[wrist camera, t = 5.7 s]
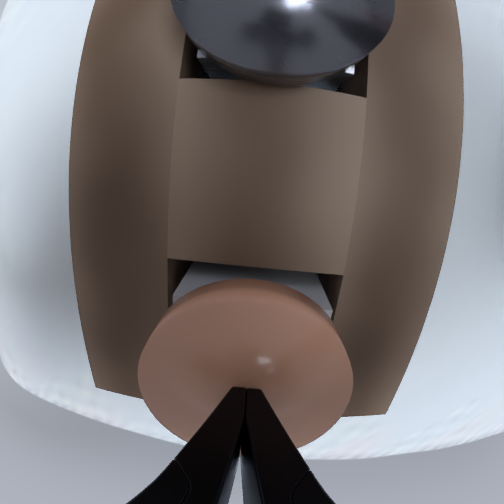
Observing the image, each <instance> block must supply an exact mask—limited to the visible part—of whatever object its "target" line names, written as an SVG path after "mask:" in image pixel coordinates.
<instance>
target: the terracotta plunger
mask: <svg viewBox="0 0 504 504" xmlns="http://www.w3.org/2000/svg"><path fill="white" fill-rule="evenodd" d="M332 312H333V310H332V308H331V305H330V303H329V301H328V298H327V296H326V294H325V292H324V290H323V287H322V285H321V283H320V281H319V279H318V276H317V274H316V273H313V272H302V271H291V270H280V269H270V268H259V267H249V266H238V265H228V264H218V263H208V262H199V261H194V262H193V263H192V265H191V266H190V268H189V270H188V271H187V273H186V274H185V276H184V278H183V279H182V281H181V282H180V284H179V286H178V287H177V289H176V291H175V292H174V294H173V304H172V305H171V306H170V307H169V308H168V309H167V311H166V312H165V313H164V314H163V316H162V317H161V319H160V321H159V322H158V324H157V326H156V327H155V329H154V331H153V333H152V334H151V336H150V338H149V340H148V341H147V343H146V345H145V347H144V349H143V351H142V353H141V356H140V360H139V363H138V384H139V388H140V392H141V394H142V397H143V399H144V401H145V403H146V405H147V407H148V408H149V410H150V411H151V413H152V414H153V415H154V416H155V418H156V419H157V420H158V421H159V422H160V423H161V424H162V425H163V426H164V427H165V428H167V429H168V430H169V431H170V432H172V433H173V434H174V435H176V436H177V437H179V438H181V439H182V440H184V441H186V442H188V441H189V440H190V439H191V438H192V437H193V435H194V434H195V433H196V432H197V430H198V429H199V428H200V427H201V425H202V424H203V423H204V422H205V420H206V419H207V418H208V417H209V415H210V414H211V413H212V412H213V410H214V409H215V408H216V407H217V405H218V404H219V403H220V401H221V400H222V399H223V398H224V396H225V395H226V394H227V392H228V391H229V390H230V388H231V387H233V386H235V387H245V388H246V390H247V388H258V389H261V390H262V391H263V393H264V395H265V397H266V398H267V400H268V402H269V403H270V405H271V407H272V409H273V410H274V412H275V414H276V415H277V417H278V419H279V420H280V422H281V424H282V425H283V427H284V429H285V430H286V432H287V433H288V435H289V437H290V438H291V440H292V442H293V443H294V445H295V446H296V448H299V447H302V446H304V445H306V444H308V443H310V442H312V441H314V440H316V439H317V438H319V437H320V436H322V435H323V434H324V433H326V432H327V431H328V430H329V429H330V428H331V427H332V426H333V425H334V424H335V423H336V422H337V421H338V420H339V419H340V417H341V416H342V414H343V413H344V411H345V409H346V407H347V405H348V403H349V401H350V398H351V394H352V389H353V371H352V367H351V363H350V360H349V358H348V355H347V353H346V350H345V348H344V345H343V343H342V340H341V338H340V335H339V333H338V331H337V329H336V327H335V324H334V323H333V321H332V320H331V316H332ZM240 457H241V450H240Z"/></svg>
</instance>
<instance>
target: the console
mask: <svg viewBox="0 0 504 504" xmlns="http://www.w3.org/2000/svg"><path fill="white" fill-rule="evenodd" d="M197 53H198V49H197V48H196V47H195V45H194V44H193V42H192V41H191V39H190V38H189V36H188V35H187V33H186V31H185V30H184V28H183V27H182V25H181V24H180V22H179V20H178V19H177V17H176V15H175V13H174V10H173V8H172V4H171V0H95V3H94V7H93V10H92V14H91V18H90V21H89V25H88V29H87V34H86V38H85V42H84V47H83V52H82V57H81V62H80V67H79V73H78V79H77V85H76V92H75V100H74V108H73V117H72V128H71V141H70V160H69V217H70V237H71V250H72V261H73V271H74V280H75V287H76V295H77V302H78V308H79V314H80V320H81V325H82V331H83V336H84V341H85V345H86V350H87V354H88V359H89V363H90V367H91V371H92V375H93V379H94V383H95V386H96V388H100V389H104V390H107V391H111V392H115V393H119V394H123V395H127V396H132V397H136V398H141V399H143V397H142V394H141V392H140V388H139V384H138V363H139V360H140V356H141V353H142V351H143V349H144V347H145V345H146V343H147V341H148V340H149V338H150V336H151V334H152V333H153V331H154V329H155V327H156V326H157V324H158V322H159V321H160V319H161V317H162V316H163V314H164V313H165V312H166V311H167V309H168V308H169V307H170V306H171V305H172V304H173V294H174V292H175V291H176V289H177V287H178V286H179V284H180V282H181V281H182V279H183V278H184V276H185V274H186V273H187V271H188V270H189V261H199V262H208V263H218V264H228V265H238V266H249V267H259V268H270V269H280V270H291V271H302V272H313V273H319V281H320V283H321V285H322V287H323V290H324V292H325V294H326V296H327V298H328V301H329V303H330V305H331V308H332V310H333V312H332V316H331V320H332V321H333V323H334V324H335V327H336V329H337V331H338V333H339V335H340V338H341V340H342V343H343V345H344V348H345V350H346V353H347V355H348V358H349V360H350V363H351V367H352V371H353V389H352V394H351V398H350V401H349V403H348V405H347V407H346V409H345V411H344V413H343V414H342V416H341V417H349V416H367V415H380V414H386V412H387V410H388V408H389V406H390V404H391V402H392V400H393V398H394V396H395V394H396V392H397V389H398V387H399V385H400V383H401V381H402V378H403V376H404V374H405V371H406V369H407V367H408V364H409V362H410V359H411V357H412V354H413V352H414V349H415V347H416V344H417V342H418V339H419V336H420V333H421V331H422V328H423V325H424V322H425V319H426V316H427V313H428V310H429V307H430V304H431V301H432V298H433V294H434V291H435V288H436V284H437V281H438V277H439V273H440V270H441V266H442V262H443V258H444V254H445V249H446V245H447V241H448V236H449V231H450V226H451V221H452V216H453V210H454V204H455V198H456V191H457V184H458V177H459V168H460V159H461V147H462V133H463V104H464V90H463V62H462V48H461V37H460V29H459V21H458V14H457V7H456V2H455V0H395V12H394V17H393V22H392V24H391V27H390V29H389V31H388V33H387V34H386V36H385V37H384V39H383V40H382V41H381V42H380V43H379V44H378V45H377V46H376V47H375V48H374V49H373V50H372V51H371V52H370V53H369V54H368V55H367V56H366V57H364V58H363V59H362V60H361V61H360V62H359V63H358V64H356V65H355V66H354V75H353V76H351V77H350V78H349V79H348V80H347V81H346V82H345V83H343V84H342V93H340V92H335V91H329V90H324V89H318V88H311V87H304V86H277V85H269V84H262V83H258V82H254V81H249V80H232V79H202V76H203V66H202V65H201V63H200V62H199V60H198V59H197Z"/></svg>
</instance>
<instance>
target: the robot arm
mask: <svg viewBox="0 0 504 504" xmlns="http://www.w3.org/2000/svg"><path fill="white" fill-rule="evenodd" d="M240 450H241V474H242V489H243V502H244V504H335V503H334V501H333V500H332V499H331V498H330V497H329V496H328V494H327V493H326V492H325V491H324V489H323V488H322V486H321V485H320V484H319V482H318V481H317V479H316V478H315V476H314V474H313V473H312V472H311V471H309V470H310V469H309V467H308V465H307V464H306V462H305V461H304V459H303V458H302V456H301V454H300V453H299V451H298V450H297V448H296V446H295V445H294V443H293V442H292V440H291V438H290V437H289V435H288V433H287V432H286V430H285V429H284V427H283V425H282V424H281V422H280V420H279V419H278V417H277V415H276V414H275V412H274V410H273V409H272V407H271V405H270V403H269V402H268V400H267V398H266V397H265V395H264V393H263V391H262V390H261V389H258V388H247V390H246V388H245V387H235V386H233V387H231V388H230V390H229V391H228V392H227V394H226V395H225V396H224V398H223V399H222V400H221V401H220V403H219V404H218V405H217V407H216V408H215V409H214V410H213V412H212V413H211V414H210V415H209V417H208V418H207V419H206V420H205V422H204V423H203V424H202V425H201V427H200V428H199V429H198V430H197V432H196V433H195V434H194V435H193V437H192V438H191V439H190V440H189V441H188V443H187V444H186V445H185V446H184V447H183V449H182V450H181V451H180V452H179V453H178V455H177V456H176V457H175V460H172V461H171V463H170V464H169V465H168V466H167V467H166V468H165V470H164V471H163V472H162V473H161V474H160V475H159V476H158V477H157V478H156V479H155V480H154V481H153V482H152V483H151V484H150V485H148V486H147V487H146V488H145V489H144V490H143V491H142V492H140V493H139V494H138V495H137V496H135V497H134V498H133V499H132V500H131V501H129V502H128V503H126V504H228V502H229V498H230V494H231V490H232V486H233V482H234V478H235V474H236V470H237V466H238V462H239V457H240Z"/></svg>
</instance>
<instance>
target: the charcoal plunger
mask: <svg viewBox="0 0 504 504" xmlns="http://www.w3.org/2000/svg"><path fill="white" fill-rule="evenodd" d="M171 4H172V8H173V10H174V13H175V15H176V17H177V19H178V20H179V22H180V24H181V25H182V27H183V28H184V30H185V31H186V33H187V35H188V36H189V38H190V39H191V41H192V42H193V44H194V45H195V47H196V48H197V49H198V53H197V59H198V60H199V62H200V63H201V65H202V66H203V68H204V69H205V71H206V72H207V74H208V75H209V77H210V78H211V79H232V80H249V81H254V82H258V83H262V84H269V85H277V86H304V87H311V88H318V89H324V90H329V91H335V90H336V89H338V88H339V87H340V86H341V85H342V84H343V83H345V82H346V81H347V80H348V79H349V78H350V77H351V76H353V75H354V66H355V65H356V64H358V63H359V62H360V61H361V60H362V59H363V58H364V57H366V56H367V55H368V54H369V53H370V52H371V51H372V50H373V49H374V48H375V47H376V46H377V45H378V44H379V43H380V42H381V41H382V40H383V39H384V37H385V36H386V34H387V33H388V31H389V29H390V27H391V24H392V22H393V17H394V12H395V0H171Z"/></svg>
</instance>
